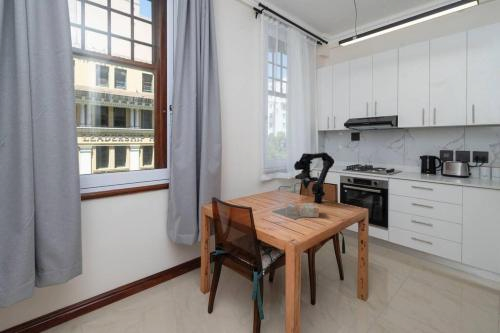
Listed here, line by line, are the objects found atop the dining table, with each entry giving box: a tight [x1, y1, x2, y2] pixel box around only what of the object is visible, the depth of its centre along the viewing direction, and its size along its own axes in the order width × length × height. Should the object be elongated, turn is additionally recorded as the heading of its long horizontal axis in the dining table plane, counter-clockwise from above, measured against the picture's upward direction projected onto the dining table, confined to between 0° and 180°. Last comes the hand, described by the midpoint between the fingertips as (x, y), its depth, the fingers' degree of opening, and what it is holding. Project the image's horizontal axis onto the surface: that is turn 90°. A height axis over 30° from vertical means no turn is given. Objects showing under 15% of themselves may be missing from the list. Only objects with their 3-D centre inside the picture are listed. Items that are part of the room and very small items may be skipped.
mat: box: [271, 207, 303, 220], centre depth 171 cm, size 14×22×1 cm, turn 38°
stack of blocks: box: [285, 202, 320, 218], centre depth 168 cm, size 21×6×12 cm
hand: (305, 188), depth 193 cm, fingers closed
